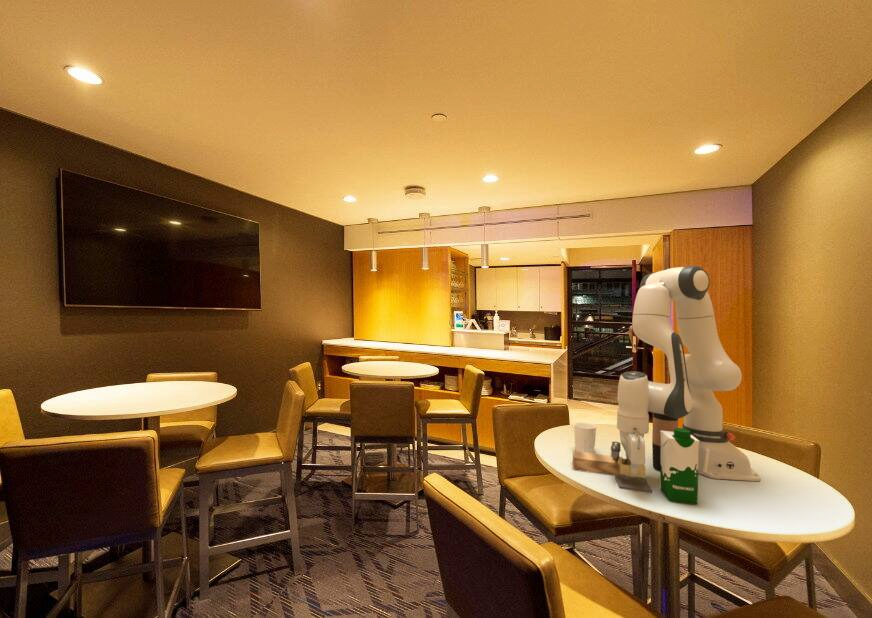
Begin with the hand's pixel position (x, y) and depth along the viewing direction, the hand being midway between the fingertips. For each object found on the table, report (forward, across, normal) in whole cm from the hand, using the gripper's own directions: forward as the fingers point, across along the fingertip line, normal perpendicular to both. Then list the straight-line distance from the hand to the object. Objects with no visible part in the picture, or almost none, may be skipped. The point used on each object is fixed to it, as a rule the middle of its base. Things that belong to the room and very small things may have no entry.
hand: (631, 469), depth 118 cm
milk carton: (+5, -5, -11) cm, 13 cm away
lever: (-2, +5, +4) cm, 7 cm away
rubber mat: (+5, 0, 0) cm, 5 cm away
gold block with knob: (+1, 0, 0) cm, 1 cm away
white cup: (+5, +26, +12) cm, 29 cm away
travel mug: (+5, +17, -13) cm, 22 cm away
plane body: (+5, +9, +9) cm, 13 cm away
